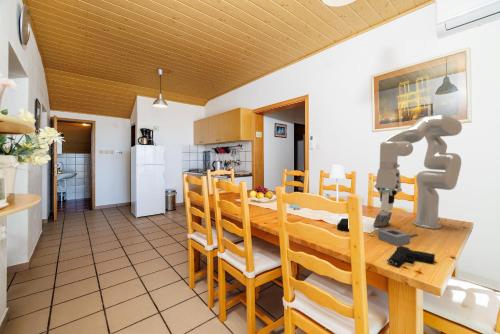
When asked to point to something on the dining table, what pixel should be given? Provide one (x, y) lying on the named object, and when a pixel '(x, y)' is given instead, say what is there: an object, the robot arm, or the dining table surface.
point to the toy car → (343, 224)
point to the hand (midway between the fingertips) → (386, 201)
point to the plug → (386, 201)
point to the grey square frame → (378, 230)
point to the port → (394, 236)
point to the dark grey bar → (413, 235)
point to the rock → (382, 218)
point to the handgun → (409, 257)
